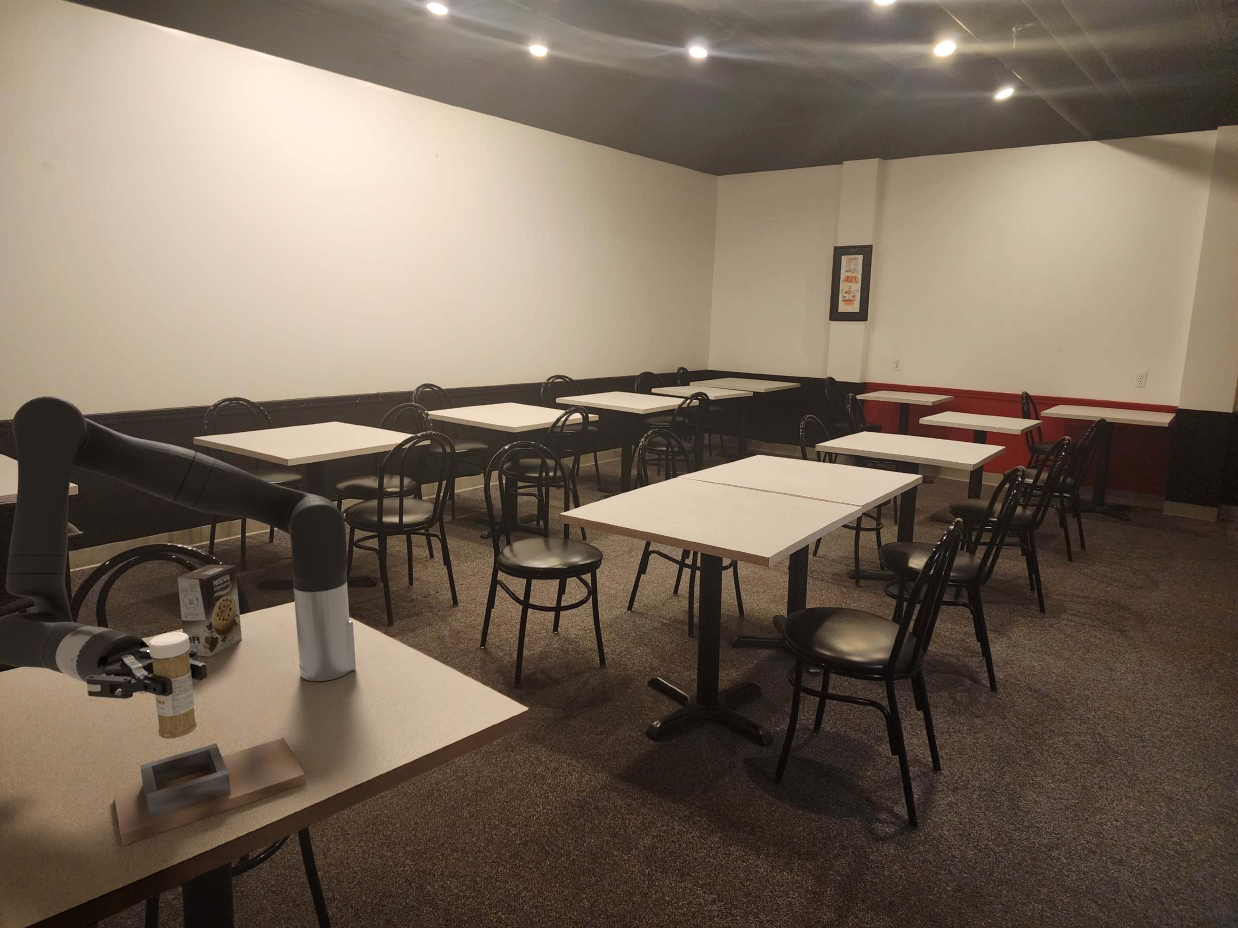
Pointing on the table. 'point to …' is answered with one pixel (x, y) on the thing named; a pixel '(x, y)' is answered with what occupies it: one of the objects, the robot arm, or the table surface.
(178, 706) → the sprinkles bottle
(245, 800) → the board
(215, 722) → the table surface
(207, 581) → the cookie box
